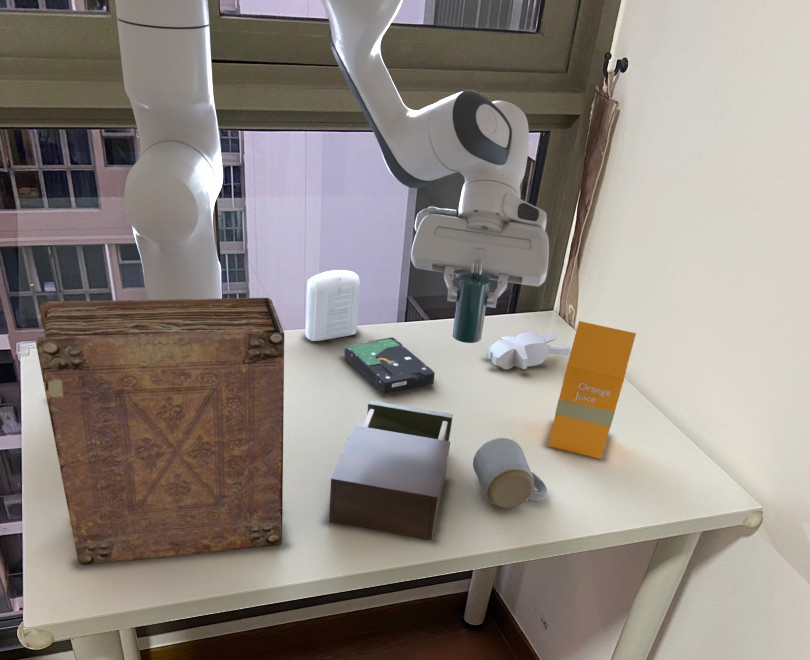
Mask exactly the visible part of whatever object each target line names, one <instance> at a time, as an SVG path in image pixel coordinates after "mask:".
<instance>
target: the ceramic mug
mask: <svg viewBox="0 0 810 660" xmlns="http://www.w3.org/2000/svg"><path fill="white" fill-rule="evenodd" d="M472 461H473V462H472V467H473V471H474V473H475V475H476V477H477V480H478V482H479V484H480V486H481V488H482V491H483V493H484V496H485V498H487V500H488V501H489V502H490V503H491V504H492V505H493V506H495V507H498V508H500V509H513V508H517V507H519V506H521V505H523V504H524V503H526V501H528V500H529V501H532V502H538V503H539V502H542V500H544V498H545V496H546V495H548V488H547V485H546V484H545V482H544V481H543V480H542V479H541V477H540V476H538V475H537V474H536V473H534V472H533V471H532V470H531V468H530V466H529V463H528V460H527V458H526V456H525V453H524V451H523V449H522V447H521V446H520V444H519V443H518V442H517V441H515V440H513V439H511V438H507V437H498V438H494V439H491V440H488V441H487V442H485V443H483V445H481V446H480V447H479V448H478V449H477V450H476V452H475V454H474V457H473V459H472ZM534 489H536V490H537V491H535V490H534Z"/></svg>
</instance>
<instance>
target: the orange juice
mask: <svg viewBox="0 0 810 660" xmlns="http://www.w3.org/2000/svg"><path fill="white" fill-rule="evenodd" d="M636 335H637V333H636V332H631V331H628V330H623V329H618V328H613V327H609V326H604V325H600V324H595V323H590V322H587V321H580V320H579V321H578V324H577V327H576V331H575V334H574V338H573V341H572V345H571V348H570V349H571V353H570V355H569V357H568V361H567V363H566V368H565V372H564V376H563V380H562V385H561V388H560V393H559V397H558V400H557V404H556V409H555V414H554V419H553V423H552V427H551V431H550V435H549V439H548V444H547V447H550V448H554V449H557V450H563V451H566V452H571V453H574V454H579V455H582V456H586V457H591V458H595V459H600V460H601V459H602V457H603V454H604V450H605V447H606V443H607V440H608V437H609V434H610V433H609V432H610V428H611V427H612V423H613V420H614V416H615V413H616V409H617V405H618V403H619V398H620V396H621V395H620V394H621V391H622V390H623V383H624V381H625V377H626V373H627V369H628V365H629V361H630V357H631V353H632V350H633V346H634V342H635V339H636Z"/></svg>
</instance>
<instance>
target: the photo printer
mask: <svg viewBox="0 0 810 660" xmlns="http://www.w3.org/2000/svg"><path fill="white" fill-rule="evenodd" d="M360 290H361V280H360V277H359V275H358V274H357V273H355V272H354V271H351V270H346V269H345V270H344V269H334V270H328V271H324V272H321V273H318V274H316V275H314V276H312V277H310V278H309V279H308V280H307V283H306V301H305V331H304V332H305V337H306V338H307V340H309V341H311V342H319V341H325V340H331V339H332V340H333V339H336V338H337V339H339V338H343V337H348V336H353V335H356V334H357V330H358V319H359V318H358V317H359V304H360V293H361V292H360Z"/></svg>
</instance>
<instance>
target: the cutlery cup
mask: <svg viewBox="0 0 810 660" xmlns="http://www.w3.org/2000/svg"><path fill="white" fill-rule="evenodd" d="M486 253H487V250H485V249H483V248H472V253H471V259H473V260H472V267H471V273H468V274H463V275H459V283H458V287H459V289H458V298H457V302H456V303H455V304H456V305H455V313H454V321H453V327H452V333H451V334H452V338H453V339H454V340H456V341H458V342H461V343H465V344H475V343H478V342H480V341H481V340H482V335H483V329H484V323H485V316H486V310H487V307H486V302H487V298H488V292H490V284H491V280H490V279H489V278H488V277H486V276H483V275H481V273H482V266H483V261H485V259H486ZM475 260H476V267H475ZM479 260H480V265H479ZM478 267H479V272H478ZM474 268H475V273H474Z"/></svg>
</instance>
